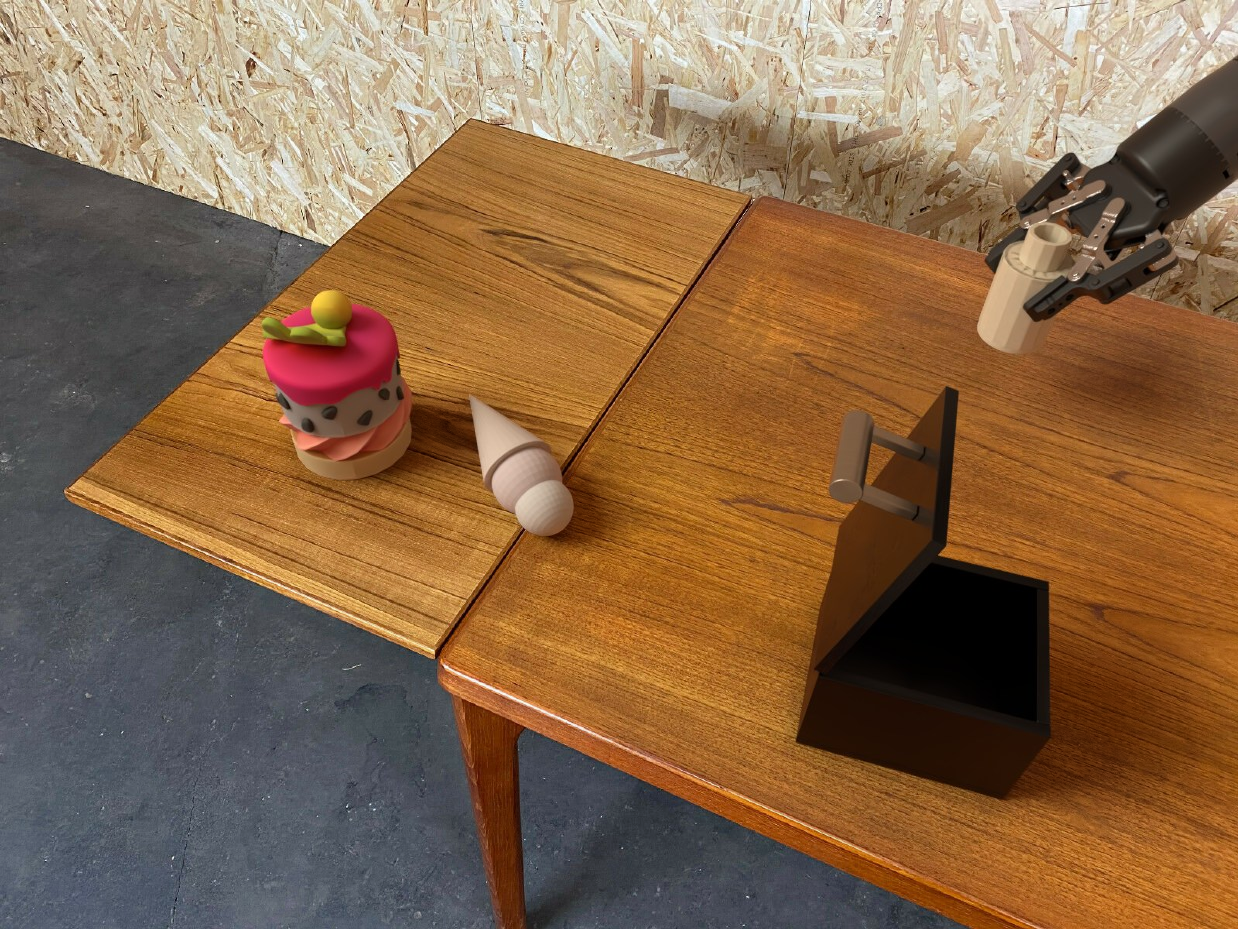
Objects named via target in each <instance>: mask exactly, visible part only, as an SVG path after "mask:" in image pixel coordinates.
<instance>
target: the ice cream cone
mask: <svg viewBox="0 0 1238 929" xmlns="http://www.w3.org/2000/svg"><path fill="white" fill-rule="evenodd" d="M468 398H469V403H470V409H471V415H472V422H473V427H474V432H475V439H476V443H477V444H476V446H477V450H478V457H479V461H480V462H479V463H480V469H481V473H482V479H483V480H482V481H483V485H484V488H485V489H486V490H487V491H488V492H491V493H493V495H494V497H495V499H496V501H497V502H498V503H499V504H500V506H501V507H502V508H504V509H505V510H506V511H508V512H510V513H512V514H514V515H515V516H516V519H517V520H518V523H519V524H520V525H521V527H523V529H524V530H525V531H527V532H528V533H531V534H533V535H535V536H540V537H549V536H554V535H556V534H559V533H560V532H561V531H563V530H564V529H565V528H566V527H567V526H568V525H569V523H570V522H571V520H572V517H573V516H574V515H573V514H574V510H575V509H574V508H575V506H574V500H573V496H572V494H571V492H570V490H569V489H568V488H567V486H566V485H565V484H563V474H562V470H561V467H560V465H559V463H558V462H557V460H556V459H555V458H554V456H553V455H552V449H551V446H550V444H549V443H547V442H545V441H544V440H543V439H541V438H539V437H538V436H536V435H535V434H534V433H532V432H530V431H529V430H527V429H526V428H524V427H522V425H521V426H520V425H519V424H518V423H516V422H514V421H513V420H511V419H510V418H508V417H506V416H505V415H503V414H502V413H501V412H499V411H497V410H495V409H494V408H492V407H491V406H490V405H488V404H486V403H485V402H483V401H481V400H480V399H478V398H477V397H475V396H473V395H472V394H470V393H468Z"/></svg>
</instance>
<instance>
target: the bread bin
mask: <svg viewBox="0 0 1238 929" xmlns="http://www.w3.org/2000/svg"><path fill="white" fill-rule="evenodd" d="M830 575H831V572H830V574H829V577H828V580H827V583H826V586H825V590H824V593H823V596H822V599H821V601H820V606H819V612H818V616H817V622H816V627H815V633H814V638H813V639H814V640H813V643H812V649H811V655H810V660H809V664H808V671H807V675H806V676H807V677H806V682H805V686H804V693H803V698H802V702H801V703H802V704H801V710H800V715H799V719H798V724H797V730H796V735H795V743H796V744H800V745H804V746H807V747H811V748H815V749H818V750H822V751H826V752H829V753H832V754H836V755H840V756H843V757H847V758H850V759H853V760H854V759H855V760H858V761H862V762H865V763H869V764H872V765H876V766H879V767H883V768H886V769H890V770H893V771H897V772H900V773H905V774H908V775H912V776H915V777H919V778H923V779H926V780H930V781H933V782H937V783H940V784H945V785H947V786H952V787H955V788H959V789H962V790H965V791H969V792H973V793H977V794H980V795H983V796H987V797H991V798H994V799H998V800H1004V799H1005V798H1006V796H1007V795H1008V794H1009V793H1010V792H1011V791H1012V789H1013V788H1014V786H1015V785H1016V784H1017V783H1018V781H1019V780H1020V778H1021V777H1022V776H1023V775H1024V774H1025V772H1026V771H1027V769H1029V768H1030V766H1031V765H1032V763H1033V762H1034V761H1035V759H1036V758H1037V756H1038V755H1039V754H1040V753H1041V752H1042V750H1043V749H1044V747H1045V746H1046V745H1047V743H1048V742H1049V741H1050V739H1051V738H1052V726H1051V658H1050V657H1051V649H1050V648H1051V643H1050V640H1051V639H1050V638H1051V637H1050V634H1051V633H1050V631H1051V630H1050V581H1048V580H1044V579H1040V578H1035V577H1032V576H1027V575H1023V574H1020V573H1019V574H1018V573H1015V572H1010V571H1006V570H1002V569H997V568H993V567H988V566H985V565H981V564H978V563H977V564H976V563H972V562H968V561H964V560H961V559H956V558H951V557H948V556H942V555H940V554H939V555H938V556H937V557H936V558H935V559H934V560H933V561H932V562H931V563H930V564H929V565H928V566H927V567H926V568H925V569H924V571H923V572H922V573H921V574H920V575H919V576H918V577H917V578H916V579H915V580H914V581H913V582H912V583H911V584H910V585H909V586H908V587H907V588H906V590H905V591H904V592H903V593H902V594H901V595H900V596H899V597H898V598H897V599H896V600H895V601H894V602H893V603H892V604H891V605H890V606H889V608H888V609H887V610H886V611H885V612H884V613H883V614H882V615H881V616H880V617H879V618H878V619H877V620H876V621H875V622H874V623H873V624H872V626H871V627H870V628H869V629H868V630H867V631H866V632H865V633H864V634H863V635H862V636H861V637H860V638H859V639H858V640H857V641H856V642H855V643H854V645H853V646H852V647H851V648H850V649H849V650H848V651H847V652H846V653H845V654H844V655H843V656H842V657H841V658H840V659H839V660H838V661H837V663H836V664H835V665H834V666H833V667H832V668H831V669H830V670H829V671H828V672H827V673H826V674H823V673H821V672H818V671H816V670H814V664H815V658H816V653H817V647H818V641H819V636H820V630H821V625H822V619H823V614H824V608H825V603H826V597H827V591H828V586H829V580H830Z"/></svg>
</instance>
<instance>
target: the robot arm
mask: <svg viewBox="0 0 1238 929" xmlns="http://www.w3.org/2000/svg"><path fill="white" fill-rule="evenodd" d="M1237 180H1238V54H1237V55H1235V56H1233V57H1232V58H1231V59H1230V60H1228V61H1227V62H1225V63H1223V65H1222V66H1220V67H1218V68H1217V69H1216V70H1213V71H1212V72H1211V73H1209V74H1207V75H1206V76H1204V77H1203V78H1201V79H1200V80H1198V81H1197V82H1196V83H1194V84H1192V86H1190V87H1189V88H1188V89H1187V90H1185V91H1184V92H1183V93H1182V94H1180V95H1179V96H1177V97H1176V99H1174V100H1173V101H1172V102H1170V103H1169V104H1168V105H1167V106H1165V107H1164V108H1163V109H1162V110H1160V111H1159V112H1158V113H1157V114H1155V115H1153V117H1152V118H1150V119H1148V121H1146V123H1143V125H1142V126H1140V127H1139V128H1138V129H1137V130H1135V131H1134V132H1132V133H1131V134H1130V135H1128V137H1127V138H1125V139H1124V140H1122V141H1121V142H1120V143H1119V144H1118V146H1117V147H1116V150H1115V153H1114V154H1113V155H1112V157H1111V158H1110V159H1109V160H1108V161H1106V162H1103V163H1102V164H1099V165H1096V166H1093V167H1090V166H1088V165H1086V164H1085V163H1082V162H1081V161H1080V159H1079V157H1078V156H1077V155H1076V153H1075V152H1073V151H1071V152H1067V153H1065V154H1064V155H1063V156H1062V157H1061V158H1060V159H1059V160H1057V162H1056V163H1055V164H1054V165H1053V166H1052V167H1051V168H1050V169H1049V170H1048V171H1047V172H1046V173H1045V174H1044V175H1043V176H1042V177H1041V178H1040V179H1039V180H1038V181H1036V183H1035V184H1034V185H1033V186H1032V187H1031V188H1030V189H1029V190H1028V191H1027V192H1026V193H1025V194H1024V195H1023V196H1022V197H1021V198H1020V199H1019V200H1018V201H1017V202H1016V204H1015V210H1016V211H1017V212H1018V216H1019V221H1020V222H1019V225H1018V226H1017V227H1016V228H1015V229H1014V230H1013V231H1012V232H1010V233H1009V234H1008V235H1006V237H1004V238H1003V239H1002V240H1000V241H998V243H996V244H995V245H994V246H993V247H992V248H990V250H989V252H988V253H987V255H986V256H985V258H984V264H985V265H986V266H987V267H988V268H989V269H990V270H991V272H992V273H993V274H994V275H995V273H996V271H997V268H998V265H999V263H1000V260H1001V257H1002V254H1003V252H1004V250H1005V249H1006V248H1007V247H1008V246H1009V245H1010V244H1012V243H1015V242H1018V241H1024V240H1025V238H1026V235H1027V232H1028V230H1029V227H1030V226H1032V225H1033V224H1035V223H1040V222H1049V223H1055V224H1058V225H1060V226H1062V227H1064V228H1066V229H1067V230H1068V231H1069V232H1070V233H1071V234H1072V235H1075V234H1077V233H1079V234H1080V235H1081V237H1083V238H1086V240H1085V241H1084V242H1083V244H1082V246H1081V252H1080V255H1079V257H1077V259H1076V260H1075V264H1074V265H1073V267H1072V268H1071V270H1070V271H1069V273H1068V277H1066V278H1065V277H1064V276H1063V275H1061V276H1059V277H1058V278H1057V279H1056V280H1054V281H1053V282H1052V283H1050V284H1049V285H1048V286H1046V287H1045V288H1044V289H1042V290H1041V291H1040V292H1038V293H1037V294H1036V295H1034V296H1033V297H1032V298H1031V299H1029V300H1028V301H1027V302H1025V303H1024V305H1023V309H1024V310H1025V312H1026V313H1027V314H1028V315H1029V316H1030V318H1031V319H1032V320H1033V321H1034V322H1039V321H1041V320H1042V319H1043V320H1044V321H1045V320H1047V319H1050V318H1052V317H1053V316H1055V315H1056V314H1057V313H1058V314H1059V313H1060V312H1062V310H1064V309H1065V308H1067V307H1068V306H1070V305H1071V304H1072V303H1074V302H1075V301H1076V300H1078V299H1079V298H1082V297H1090V298H1092V299H1095V300H1096V301H1098V302H1099V303H1100V304H1101V305H1103V306H1105V305H1109V304H1111V303H1113V302H1115V301H1117V300H1119V299H1121V298H1122V297H1124V296H1126V295H1128V294H1130V293H1131V292H1133V291H1135V290H1136V289H1138V288H1140V287H1142V286H1144V285H1146V284H1147V283H1150V282H1151V281H1152V280H1155V279H1156V278H1158V277H1159V276H1162V275H1163V274H1165V273H1166V272H1167V273H1168V272H1169V271H1171V270H1173V269H1174V268H1176V266H1177V265H1178V264H1179V261H1180V258H1179V256H1178V255H1177V251H1176V250H1175V249H1174V246H1173V245H1172V244H1171V243H1170V241H1169V240H1168V239H1167V238H1165V237H1164V236H1163V235H1164V234H1165V232H1166V230H1167V229H1168V227H1169V226H1170V225H1171V224H1172V223H1173V222H1175V221H1182V220H1184V219H1187V218H1188V217H1189V216H1190V215H1191V214H1193V213H1194V212H1196V211H1197V210H1198V209H1200V208H1201V207H1202V206H1204V205H1205V204H1206V203H1208V202H1209V201H1210V200H1212V199H1213V198H1215V197H1216V196H1217V195H1219V194H1220V193H1221V192H1223V191H1224V190H1225V189H1227V188H1228V187H1229V186H1231V185H1232V184H1234V182H1236V181H1237ZM1072 191H1073V192H1072ZM1066 213H1068V216H1067V214H1066ZM1137 246H1138V247H1137ZM1134 247H1137V250H1136V251H1135V252H1133V253H1131V254H1129V255H1128V256H1126V257H1124V258H1123V259H1122V257H1123V256H1124V254H1125V253H1126V252H1127V250H1128V249H1129V248H1134ZM1058 314H1057V315H1058Z"/></svg>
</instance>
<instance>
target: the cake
mask: <svg viewBox="0 0 1238 929" xmlns="http://www.w3.org/2000/svg"><path fill="white" fill-rule="evenodd" d="M261 329H262V337H263V338H264V339H265V341H264V345H263V348H262V360H263V364H264V367H265V371H266V374H267V377H268V381H269V382H270V383H273V385H274V389H275V390H276V392H275V395H274V396H275V399H276V401H277V403H278V404H279V405H280V407H281V409H282V411H283V412H282V413H283V414H282V416H281V417H280V419H279V421H278V423H279V424H280V425H282V426H284V427H286V428H288V429H289V430H290V434H291V439H292V442H293V445H294V448H295V452H296V454H297V457H298V459H299V460H300V462H301V463H302V464H303V465H304V467H305V468H306V469H307V470H309V471H311V472H312V473H314V474H316V475H318V476H319V477H323V478H327V479H332V480H337V481H344V480H345V481H346V480H348V481H349V480H360V479H363V478H367V477H370V476H376V475H377V474H379V473H381V472H382V471H385V470H386V469H388V468H390V467H392V466H394V464H395V463H396V462H397V461H398V460H399V459H401V458H402V457H403V456H404V455H405V454H406V451H407V449H408V447H409V445H410V444H411V441H412V432H413V428H412V422H411V417H410V416H411V412H412V408H413V407H412V406H413V391H412V389H411V388H410V386H409V385H408V383H407V381H406V379H405V378H404V377H403V376H402V370H401V365H400V364H401V363H400V361H399V360H400V359H401V352H400V347H399V342H398V338H397V334H396V331H395V328H394V327H393V325H392V323H391V322H390V321H389V319H388V318H387V317H385V316H384V315H383V314H382V313H380V312H379V311H377V310H376V309H373V308H371V307H368V306H365V305H361V304H358V303H351V301H350V299H349V297H348V296H347V295H345V294H344V293H343V292H341V291H338V290H334V289H331V290H323V291H321V292H320V293H317V295H316V296H315V297H314V299H313V300H312V301H311V306H309V307H305V308H303V309H300V310H298V311H296V312H294V313H292V314H290V315H288V316H286V318H284V319H283V320H281V321H279V320H278V319H276V318H274V317H271V316H267V317H265V318H264V319H263V320H262V322H261Z"/></svg>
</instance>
